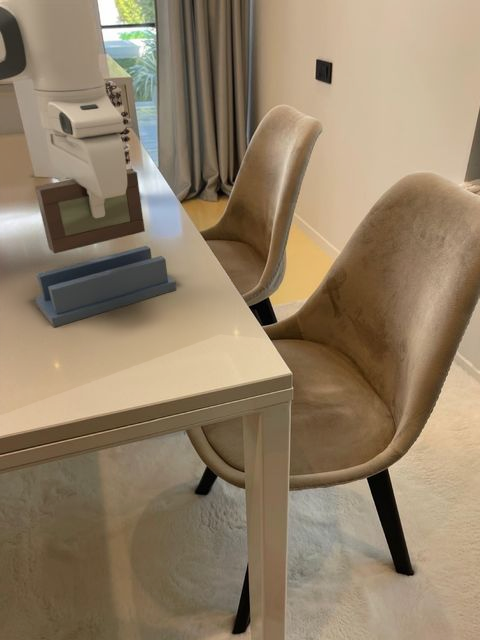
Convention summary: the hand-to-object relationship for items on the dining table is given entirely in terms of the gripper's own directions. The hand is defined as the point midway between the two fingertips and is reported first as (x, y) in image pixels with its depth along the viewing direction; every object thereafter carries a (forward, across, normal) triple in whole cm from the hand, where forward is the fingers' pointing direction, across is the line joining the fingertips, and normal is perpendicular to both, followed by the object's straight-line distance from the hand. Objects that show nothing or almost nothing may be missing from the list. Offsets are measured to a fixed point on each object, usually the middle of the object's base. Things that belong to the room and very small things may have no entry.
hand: (93, 213), depth 81 cm
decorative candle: (+14, -44, +21) cm, 51 cm away
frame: (+4, 0, 0) cm, 4 cm away
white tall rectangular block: (+14, -71, +18) cm, 75 cm away
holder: (+14, 0, 0) cm, 14 cm away
